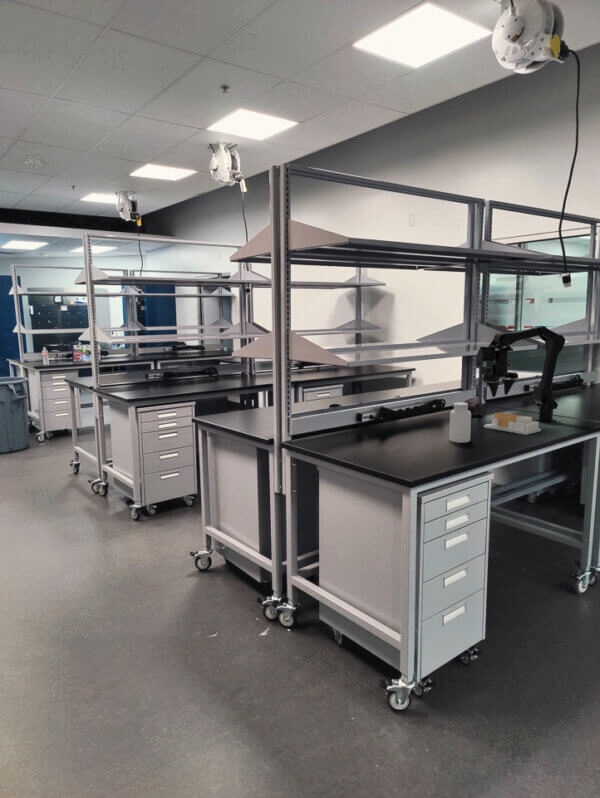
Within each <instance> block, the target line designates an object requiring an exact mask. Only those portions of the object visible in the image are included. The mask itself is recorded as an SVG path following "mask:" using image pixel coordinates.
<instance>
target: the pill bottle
mask: <svg viewBox="0 0 600 798" xmlns="http://www.w3.org/2000/svg"><path fill="white" fill-rule="evenodd" d="M467 409H468V404H467V403H463V401H462V402H460V401H459V402H458V401H457V402H455V403H453V409H452V410H450V413H449V437H448V438H449V441H451V442H452V443H453V442H454V443H460V444H461V443H462V444H463V443H465V444H466V443H469V442H470V441H471V429H472V427H471V426H472V416H471V412H470V411H469V410H467Z"/></svg>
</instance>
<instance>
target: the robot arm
mask: <svg viewBox="0 0 600 798" xmlns="http://www.w3.org/2000/svg"><path fill="white" fill-rule="evenodd" d="M535 337H539V339H541V340H542V342H543V341H544V349H545V353H546V354H545V359H544V364H543V368H542V373H541V378H540V384H539V385H538V386H537V387H536V386H534V387H533V393H532V399H533V401H534V403H535V405H536V406H537V407H539V413H538V418H536V419H535V421H536V422H544V423H552V422H556V421H557V419H555V418H554V410H557V409H558V406H559V403H557V402H556V401H555V399H554V390H553V380H554V376H555V371H556V366H557V361H558V357H559V354H561V352H562V350H563V349H564V348H565V347H564V346H565V344H566V337H564V336H563V335H562V334H558V333H557V332H556V331H553V330H552V329H551V330H550V328H548V327H547V326H544V325H537V326H536V327H532V328H531V327H530V328H527V329H523V330H518V331H514V332H513V331H512V332H497V333H496V334H495V335H494V336H493V339H492V341H491V342H490V343H489V345H487V346H479V349H478V350H477V354H476V359H477V361H478V362H479V363H486V362H488V363H489V362H490V363H492V362H493V363H492V364H491V366H490V367H487V366H481V367H480V374H482V375H483V376H482V381H483V382H484V383H485V384H486V385H488V387H489V390H490V393H491V396H492V397H493V398H495V397H496V396H497V393H498V390H499V386H500V380H501V381H502V382H503V390H504V391H503V393H504V395H505V396H507V395H508V394H509V392H510V391H511V389H512V387H513V385H514V384H515V382H516V381H517V379H519V373H518V372H515V371H514V372H513V371H509V370H508V369H509V367H510V366H511V363H509V352H514V349H513V348H512V346H511V345H513V344H514V343H516V342H518V341H521V340H526V339H530V338H535Z"/></svg>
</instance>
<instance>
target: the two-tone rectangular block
mask: <svg viewBox="0 0 600 798" xmlns="http://www.w3.org/2000/svg"><path fill="white" fill-rule="evenodd" d="M493 418H496V419H499V423H498V425H499V426H505V427H508V424H509V421H514V422H518V423H524V424H529V423H532V421H533V416H527V415H518V414H513V413H512V414H511V413H504V412H499V411H498V412H494V413H493Z"/></svg>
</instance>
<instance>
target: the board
mask: <svg viewBox="0 0 600 798" xmlns="http://www.w3.org/2000/svg"><path fill="white" fill-rule="evenodd" d="M539 422H540V421H536V420H535V421H533V420H532V423H529V424H524V423H518V422H514V421H509V424H508V427H505V426H499V425H498V423H499V419H496V418H494V417H493V418H491V423H486V424H484V425H483V427H484V428H485V429H492V430H497V431H502V432H509V433H513V432H514V433H515V434H520V435H525V436H526V435H530V434H531V435H532V434H535V433H538V432H541V431H542V428H539V427H540V426H539Z"/></svg>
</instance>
